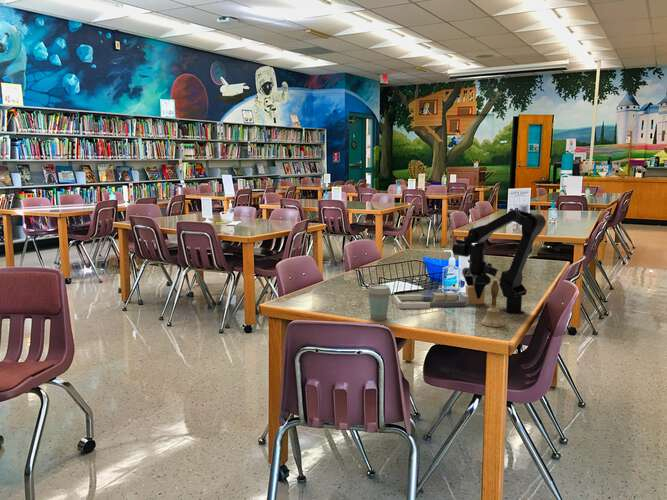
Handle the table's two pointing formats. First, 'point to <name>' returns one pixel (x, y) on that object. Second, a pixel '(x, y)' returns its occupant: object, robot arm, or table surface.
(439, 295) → the tan wooden cube
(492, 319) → the hand bell
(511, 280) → the robot arm
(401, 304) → the tray
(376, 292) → the coffee cup
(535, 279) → the table surface
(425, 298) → the slot rails
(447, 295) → the beige cube
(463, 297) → the tan rectangular block
